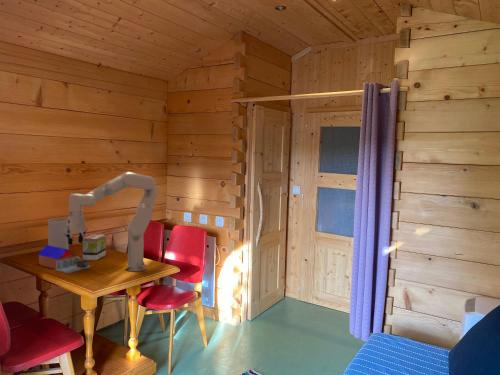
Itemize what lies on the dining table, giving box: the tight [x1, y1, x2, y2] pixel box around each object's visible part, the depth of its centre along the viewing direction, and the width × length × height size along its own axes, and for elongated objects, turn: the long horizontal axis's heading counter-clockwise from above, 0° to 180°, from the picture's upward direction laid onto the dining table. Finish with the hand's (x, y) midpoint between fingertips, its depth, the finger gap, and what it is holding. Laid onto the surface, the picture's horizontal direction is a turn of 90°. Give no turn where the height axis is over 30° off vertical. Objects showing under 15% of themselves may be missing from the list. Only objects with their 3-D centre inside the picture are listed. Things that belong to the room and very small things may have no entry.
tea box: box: [82, 234, 107, 261], centre depth 267 cm, size 15×10×15 cm, turn 179°
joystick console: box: [55, 256, 91, 274], centre depth 239 cm, size 11×16×5 cm
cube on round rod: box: [75, 258, 89, 268], centre depth 241 cm, size 10×4×4 cm, turn 61°
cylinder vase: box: [47, 217, 70, 251], centre depth 270 cm, size 12×12×25 cm
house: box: [37, 244, 76, 269], centre depth 246 cm, size 12×20×12 cm, turn 61°
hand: (75, 243), depth 236 cm, fingers open, 6 cm apart
